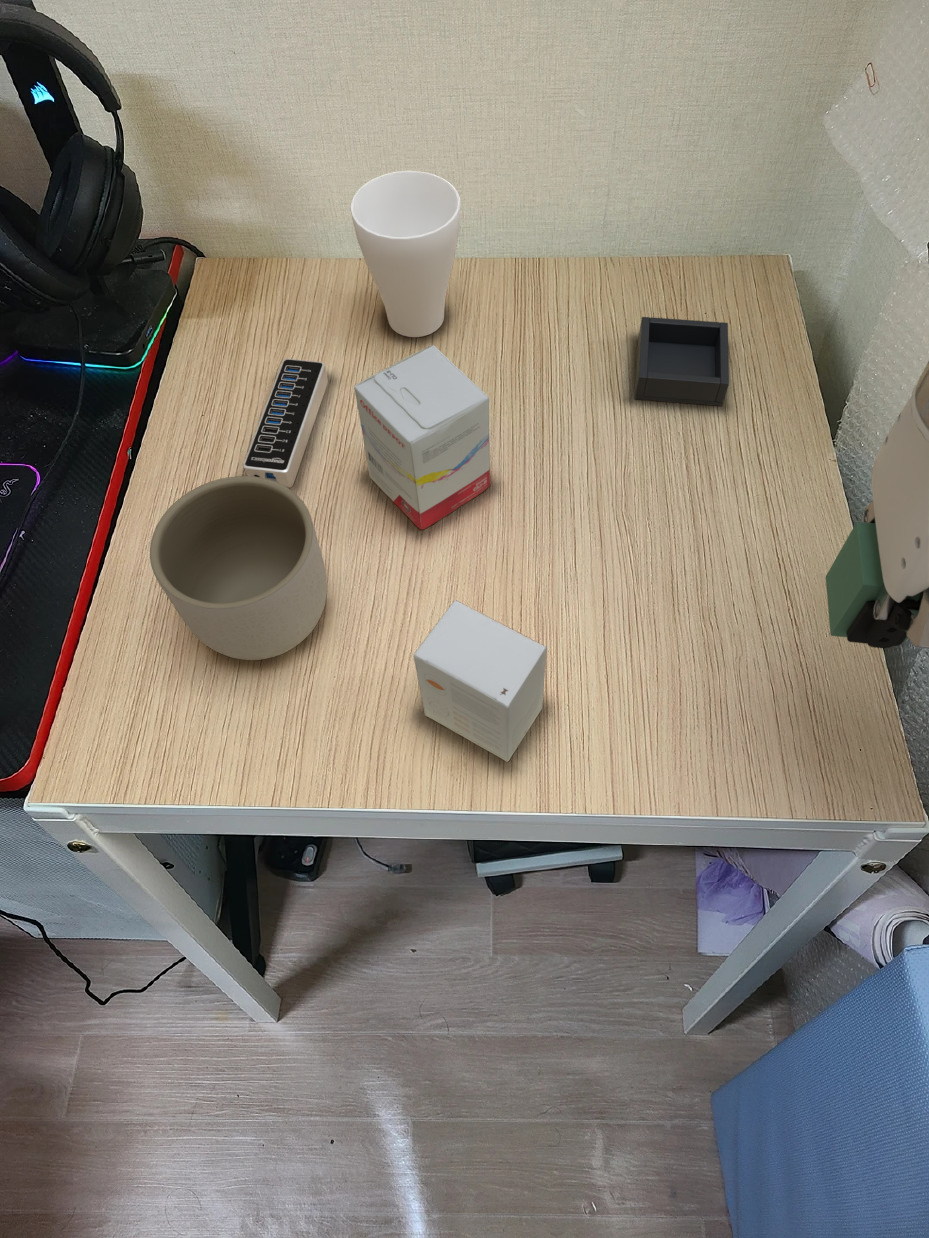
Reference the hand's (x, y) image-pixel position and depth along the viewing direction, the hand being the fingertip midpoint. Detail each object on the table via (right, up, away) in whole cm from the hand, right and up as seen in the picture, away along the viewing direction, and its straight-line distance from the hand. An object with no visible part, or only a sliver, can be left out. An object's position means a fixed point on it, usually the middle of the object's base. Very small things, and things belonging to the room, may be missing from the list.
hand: (868, 602), depth 55 cm
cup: (-31, +31, +39) cm, 59 cm away
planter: (-43, -1, +21) cm, 48 cm away
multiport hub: (-43, +18, +31) cm, 56 cm away
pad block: (0, 0, +1) cm, 1 cm away
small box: (-24, -9, +15) cm, 30 cm away
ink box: (-29, +12, +27) cm, 42 cm away
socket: (-4, +24, +34) cm, 41 cm away
